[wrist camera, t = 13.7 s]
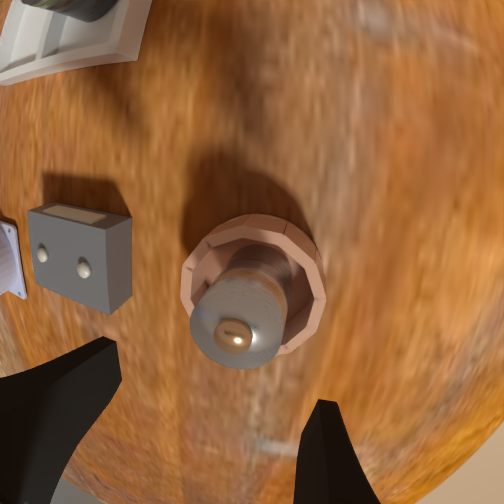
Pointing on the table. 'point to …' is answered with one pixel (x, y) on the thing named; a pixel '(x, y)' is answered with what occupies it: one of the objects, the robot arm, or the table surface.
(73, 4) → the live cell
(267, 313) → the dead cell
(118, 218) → the grey box with knobs
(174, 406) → the table surface
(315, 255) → the pink bowl
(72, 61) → the tray
